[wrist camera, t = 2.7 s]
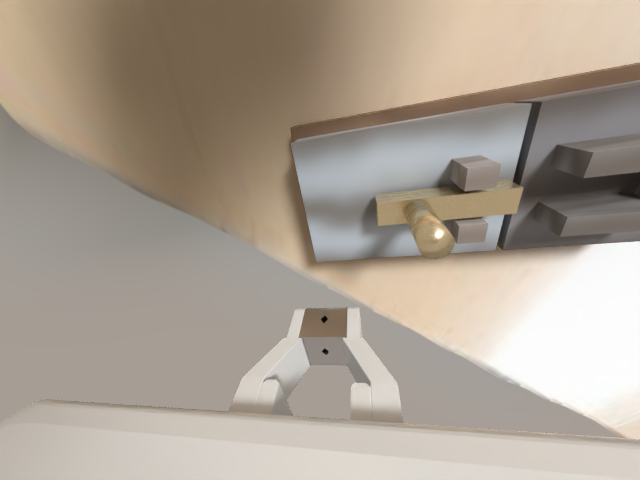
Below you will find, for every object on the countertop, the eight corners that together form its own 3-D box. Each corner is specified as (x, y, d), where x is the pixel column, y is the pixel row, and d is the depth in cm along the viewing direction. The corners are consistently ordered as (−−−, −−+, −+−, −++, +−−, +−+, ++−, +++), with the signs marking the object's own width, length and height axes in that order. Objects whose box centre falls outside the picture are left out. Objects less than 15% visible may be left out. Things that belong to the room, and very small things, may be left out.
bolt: (374, 194, 20) (384, 235, 14) (507, 179, 18) (583, 218, 12) (376, 215, 21) (384, 262, 15) (501, 203, 19) (569, 250, 13)
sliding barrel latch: (295, 126, 23) (270, 137, 16) (719, 47, 17) (972, 11, 10) (319, 245, 30) (308, 288, 23) (625, 221, 24) (735, 270, 17)
